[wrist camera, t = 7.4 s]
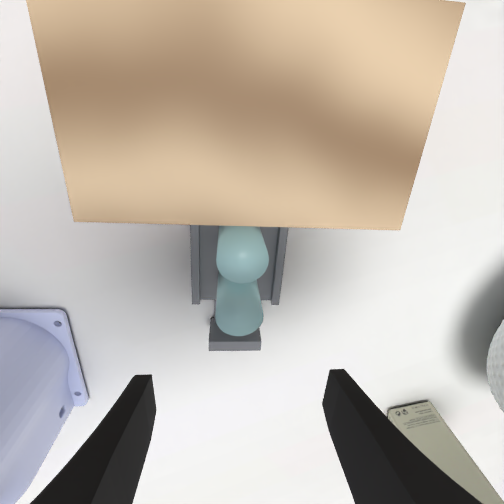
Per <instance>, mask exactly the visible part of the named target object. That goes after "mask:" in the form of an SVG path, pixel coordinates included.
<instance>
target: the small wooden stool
mask: <svg viewBox="0 0 504 504" xmlns="http://www.w3.org/2000/svg"><path fill="white" fill-rule="evenodd" d="M26 2H27V6H28V11H29V16H30V20H31V25H32V29H33V34H34V39H35V43H36V48H37V53H38V57H39V62H40V66H41V71H42V76H43V80H44V85H45V90H46V94H47V99H48V104H49V108H50V113H51V117H52V122H53V127H54V131H55V136H56V141H57V145H58V150H59V154H60V159H61V164H62V168H63V173H64V178H65V182H66V187H67V192H68V196H69V201H70V205H71V210H72V215H73V219H74V222H105V223H143V224H181V225H219V226H257V227H295V228H333V229H371V230H400V229H401V225H402V222H403V218H404V215H405V211H406V208H407V204H408V201H409V197H410V194H411V191H412V187H413V184H414V180H415V177H416V173H417V170H418V166H419V163H420V159H421V156H422V152H423V149H424V146H425V142H426V139H427V135H428V132H429V128H430V125H431V121H432V118H433V114H434V111H435V107H436V104H437V101H438V97H439V94H440V90H441V87H442V83H443V80H444V76H445V73H446V69H447V66H448V62H449V59H450V55H451V52H452V49H453V45H454V42H455V38H456V35H457V31H458V28H459V24H460V21H461V17H462V14H463V10H464V7H465V4H466V3H463V2H454V1H445V0H26Z"/></svg>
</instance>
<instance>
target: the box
mask: <svg viewBox="0 0 504 504" xmlns="http://www.w3.org/2000/svg"><path fill="white" fill-rule="evenodd" d="M388 419H389V420H390V421H391V422H392V423H393V424H394V425H395V426H396V427H397V428H398V429H399V430H400V431H401V432H402V433H403V434H404V435H405V436H406V437H407V438H408V439H409V440H410V441H411V442H412V443H413V444H414V445H415V446H416V447H417V448H418V449H419V450H420V451H421V452H422V453H423V454H424V455H425V456H427V457H428V458H429V459H430V460H431V461H432V462H433V463H434V464H435V465H437V466H438V467H439V468H440V469H441V470H442V471H443V472H444V473H446V474H447V475H448V476H449V477H450V478H452V479H453V480H454V481H455V482H456V483H458V484H459V485H460V486H461V487H463V488H464V489H465V490H466V491H468V492H469V493H470V494H471V495H473V496H474V497H475V498H476V499H478V500H479V501H480V502H481V503H483V504H504V502H503V500H502V499H501V497H500V496H499V495H498V493H497V492H496V491H495V489H494V488H493V487H492V485H491V484H490V483H489V481H488V480H487V478H486V477H485V476H484V474H483V473H482V472H481V470H480V469H479V468H478V466H477V465H476V464H475V462H474V461H473V459H472V458H471V457H470V455H469V454H468V453H467V451H466V450H465V449H464V447H463V446H462V445H461V443H460V442H459V440H458V439H457V438H456V436H455V435H454V434H453V432H452V431H451V430H450V428H449V427H448V426H447V424H446V423H445V421H444V420H443V419H442V417H441V416H440V414H439V413H438V412H437V410H436V409H435V408H434V406H433V405H432V403H431V402H423V403H417V404H413V405H408V406H404V407H400V408H395V409H391V410H389V412H388Z"/></svg>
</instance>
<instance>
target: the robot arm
mask: <svg viewBox="0 0 504 504" xmlns="http://www.w3.org/2000/svg"><path fill="white" fill-rule="evenodd" d="M58 321H60V322H61V323H59V322H58ZM87 402H88V395H87V391H86V387H85V383H84V380H83V376H82V372H81V368H80V365H79V361H78V357H77V353H76V350H75V346H74V342H73V338H72V334H71V331H70V327H69V323H68V319H67V316H66V313H65V312H64V311H62V310H60V309H0V504H15V503H16V502H17V501H18V500H19V499H20V497H21V496H22V495H23V494H24V493H25V491H26V490H27V489H28V487H29V486H30V484H31V483H32V481H33V479H34V477H35V476H36V474H37V472H38V470H39V468H40V467H41V465H42V463H43V461H44V459H45V458H46V456H47V454H48V452H49V450H50V448H51V447H52V445H53V443H54V441H55V439H56V438H57V436H58V434H59V432H60V430H61V429H62V427H63V425H64V423H65V421H66V419H67V418H68V416H69V414H70V412H71V410H72V409H73V407H74V406H84V405H86V403H87ZM322 405H323V409H324V413H325V417H326V421H327V425H328V429H329V432H330V435H331V438H332V441H333V444H334V446H335V449H336V452H337V455H338V457H339V460H340V463H341V466H342V468H343V471H344V474H345V477H346V479H347V482H348V485H349V487H350V490H351V493H352V496H353V499H354V502H355V504H483V503H481V502H480V501H479V500H478V499H476V498H475V497H474V496H473V495H471V494H470V493H469V492H468V491H466V490H465V489H464V488H463V487H461V486H460V485H459V484H458V483H456V482H455V481H454V480H453V479H452V478H450V477H449V476H448V475H447V474H446V473H444V472H443V471H442V470H441V469H440V468H439V467H438V466H437V465H435V464H434V463H433V462H432V461H431V460H430V459H429V458H428V457H427V456H425V455H424V454H423V453H422V452H421V451H420V450H419V449H418V448H417V447H416V446H415V445H414V444H413V443H412V442H411V441H410V440H409V439H408V438H407V437H406V436H405V435H404V434H403V433H402V432H401V431H400V430H399V429H398V428H397V427H396V426H395V425H394V424H393V423H392V422H391V421H390V420H389V419H388V418H387V417H386V416H385V415H384V414H383V412H382V411H381V410H380V409H379V408H378V407H377V406H376V405H375V404H374V403H373V402H372V400H371V399H370V398H369V397H368V396H367V395H366V394H365V393H364V391H363V390H362V389H361V388H360V387H359V386H358V384H357V383H356V382H355V381H354V380H353V379H352V378H351V376H350V375H349V374H348V373H347V372H346V371H345V370H344V369H331V370H330V371H329V376H328V380H327V385H326V389H325V394H324V398H323V403H322ZM155 415H156V404H155V396H154V389H153V381H152V375H135V376H134V377H133V378H132V379H131V381H130V382H129V384H128V385H127V387H126V388H125V390H124V391H123V393H122V394H121V396H120V397H119V398H118V400H117V401H116V403H115V404H114V405H113V407H112V408H111V409H110V411H109V412H108V413H107V415H106V416H105V417H104V419H103V420H102V421H101V423H100V424H99V425H98V427H97V428H96V429H95V430H94V432H93V433H92V434H91V435H90V437H89V438H88V439H87V440H86V442H85V443H84V444H83V445H82V446H81V448H80V449H79V450H78V451H77V452H76V454H75V455H74V456H73V457H72V458H71V460H70V461H69V462H68V463H67V464H66V465H65V466H64V468H63V469H62V470H61V471H60V472H59V473H58V474H57V475H56V477H55V478H54V479H53V480H52V481H51V482H50V483H49V484H48V485H47V486H46V487H45V489H44V490H43V491H42V492H41V493H40V494H39V495H38V496H37V497H36V498H35V499H34V500H33V501H32V502H31V503H30V504H132V503H133V499H134V496H135V492H136V489H137V486H138V482H139V479H140V475H141V472H142V469H143V465H144V462H145V458H146V455H147V451H148V448H149V444H150V441H151V436H152V431H153V426H154V420H155Z"/></svg>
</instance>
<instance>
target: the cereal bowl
mask: <svg viewBox="0 0 504 504" xmlns="http://www.w3.org/2000/svg"><path fill="white" fill-rule="evenodd" d="M486 367H487V376H488V383H489V385H490V388H491V392H492V394H493V395H494V398H495V400H496V402H497V403H498V405H499V407H500V409H501V410H502V411H503V412H504V320H503V321H502V323H501V325H500V326H499V328H498V329H497V331H496V333H495V334H494V336H493V339H492V342H491V344H490V348H489V350H488V357H487V366H486Z"/></svg>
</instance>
